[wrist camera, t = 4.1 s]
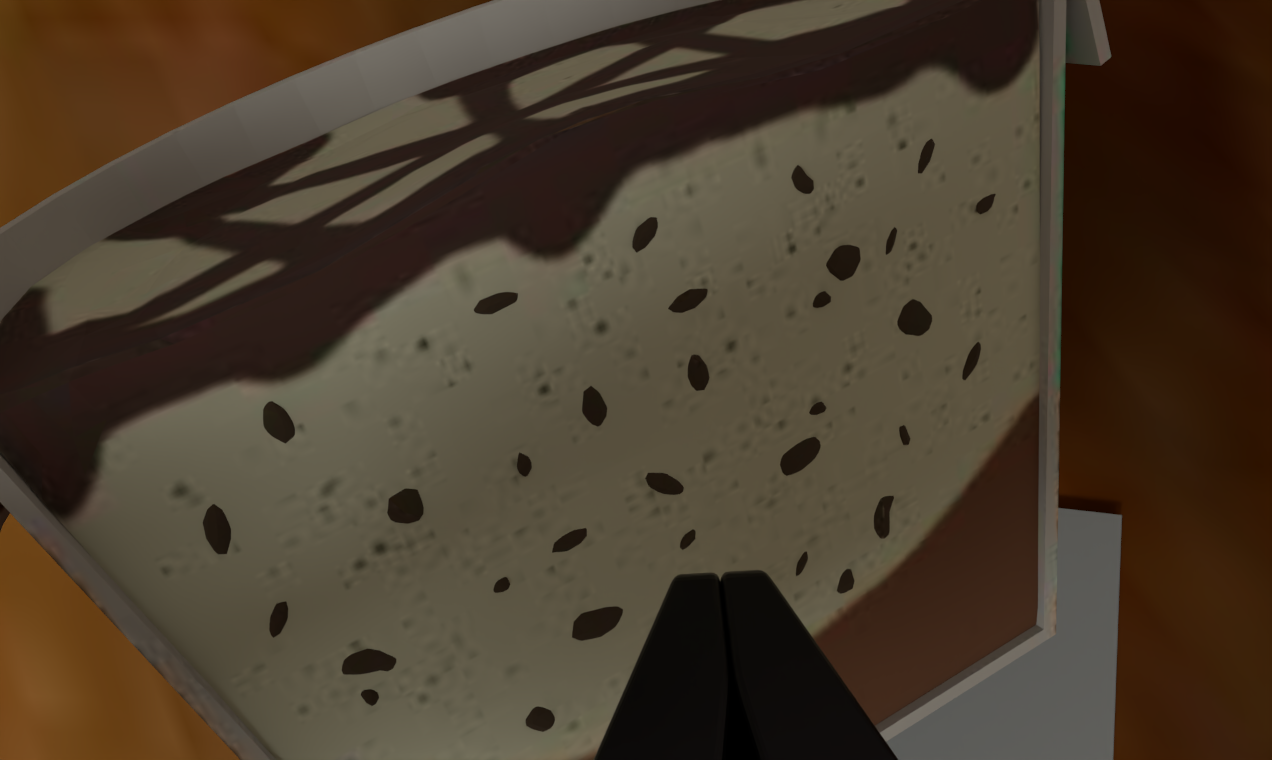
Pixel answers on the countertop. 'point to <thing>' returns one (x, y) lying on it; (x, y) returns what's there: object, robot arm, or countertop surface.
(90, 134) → the countertop surface
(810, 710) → the robot arm
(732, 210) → the food container
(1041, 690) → the slate mat
